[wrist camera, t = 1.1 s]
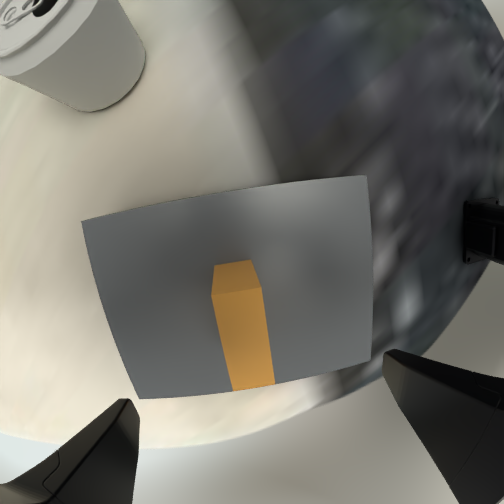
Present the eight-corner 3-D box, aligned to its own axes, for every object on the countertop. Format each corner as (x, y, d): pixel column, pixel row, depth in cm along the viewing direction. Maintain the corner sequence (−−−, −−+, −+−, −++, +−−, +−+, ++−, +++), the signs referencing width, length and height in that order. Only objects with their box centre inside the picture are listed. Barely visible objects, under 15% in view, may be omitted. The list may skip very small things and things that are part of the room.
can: (154, 95, 18) (89, 13, 6) (69, 128, 18) (-35, 97, 6) (143, 23, 16) (98, -69, 5) (65, 55, 16) (-13, -2, 4)
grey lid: (358, 175, 16) (411, 173, 11) (364, 353, 19) (399, 397, 14) (88, 219, 15) (38, 234, 10) (142, 390, 18) (124, 443, 13)
